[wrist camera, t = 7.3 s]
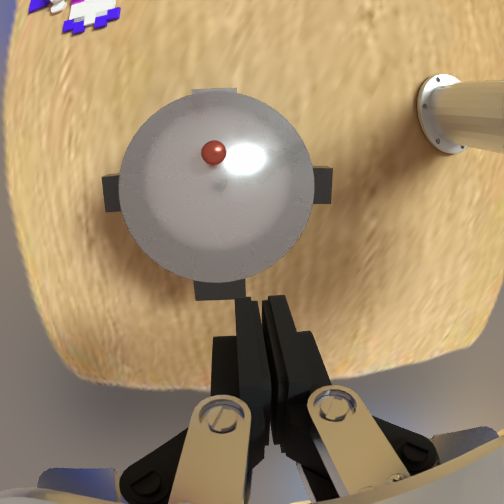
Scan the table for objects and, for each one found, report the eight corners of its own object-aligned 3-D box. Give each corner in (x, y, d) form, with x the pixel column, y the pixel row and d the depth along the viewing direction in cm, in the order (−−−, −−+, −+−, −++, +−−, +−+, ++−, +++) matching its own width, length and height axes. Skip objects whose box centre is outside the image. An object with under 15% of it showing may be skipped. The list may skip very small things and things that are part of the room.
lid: (312, 95, 25) (321, 91, 22) (304, 289, 32) (311, 303, 29) (117, 102, 23) (107, 99, 21) (138, 296, 30) (131, 310, 28)
